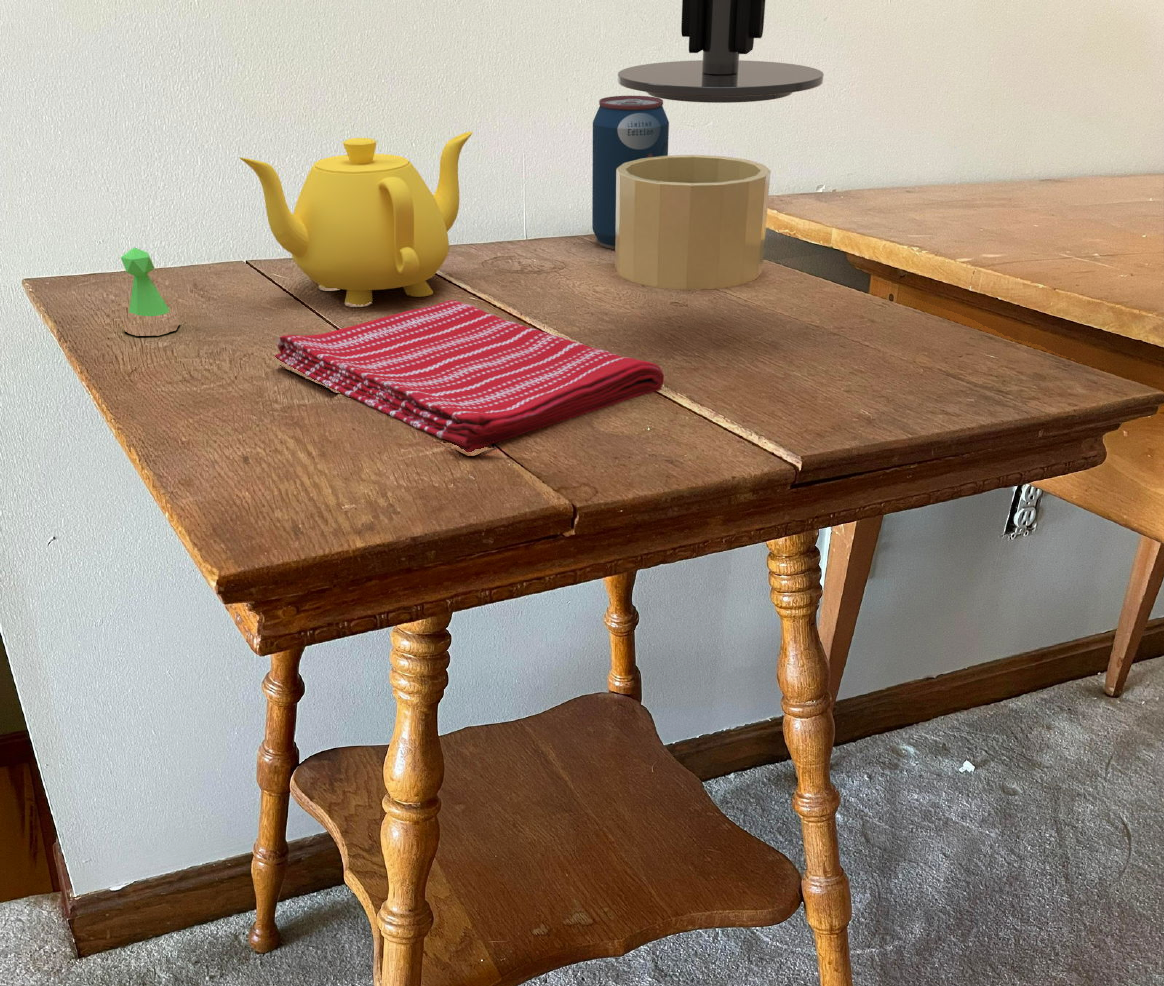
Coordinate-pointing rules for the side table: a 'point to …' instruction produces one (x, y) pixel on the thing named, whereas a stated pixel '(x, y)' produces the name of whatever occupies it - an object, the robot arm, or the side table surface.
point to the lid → (720, 69)
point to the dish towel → (467, 372)
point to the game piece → (143, 285)
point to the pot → (691, 221)
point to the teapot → (366, 219)
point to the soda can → (622, 151)
